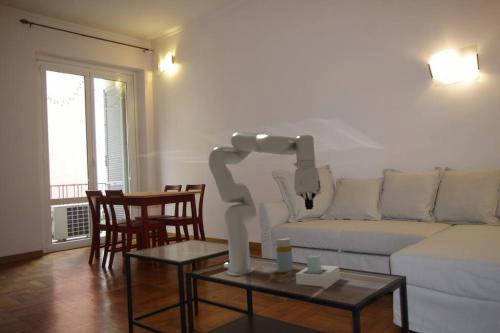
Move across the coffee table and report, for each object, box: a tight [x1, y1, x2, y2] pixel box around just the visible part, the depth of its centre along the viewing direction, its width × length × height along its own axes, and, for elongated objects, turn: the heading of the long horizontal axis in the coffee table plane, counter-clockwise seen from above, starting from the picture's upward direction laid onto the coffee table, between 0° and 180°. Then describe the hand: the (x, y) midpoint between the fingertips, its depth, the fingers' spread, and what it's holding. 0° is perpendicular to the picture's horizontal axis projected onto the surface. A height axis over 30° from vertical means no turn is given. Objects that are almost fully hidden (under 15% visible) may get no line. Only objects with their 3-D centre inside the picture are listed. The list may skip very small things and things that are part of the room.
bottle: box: [275, 237, 294, 272], centre depth 178 cm, size 7×7×15 cm
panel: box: [295, 264, 341, 290], centre depth 156 cm, size 12×16×5 cm
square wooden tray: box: [266, 270, 296, 284], centre depth 161 cm, size 10×8×4 cm
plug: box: [306, 254, 322, 273], centre depth 154 cm, size 4×4×10 cm
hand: (309, 209), depth 161 cm, fingers closed
